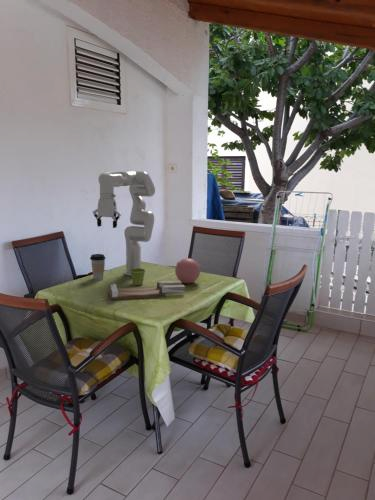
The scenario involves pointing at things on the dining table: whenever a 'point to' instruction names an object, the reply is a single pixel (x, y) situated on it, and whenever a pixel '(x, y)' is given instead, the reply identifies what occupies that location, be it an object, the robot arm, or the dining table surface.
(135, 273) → the plant pot
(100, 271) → the coffee cup
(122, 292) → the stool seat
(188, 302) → the dining table surface
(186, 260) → the balloon
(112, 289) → the folding leg
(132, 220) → the robot arm
